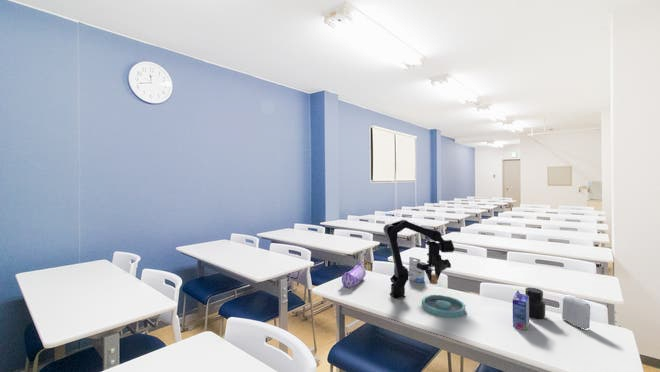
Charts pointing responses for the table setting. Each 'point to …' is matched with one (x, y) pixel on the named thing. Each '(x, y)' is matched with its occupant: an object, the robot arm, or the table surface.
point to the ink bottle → (536, 303)
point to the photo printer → (576, 311)
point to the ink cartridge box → (520, 311)
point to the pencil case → (353, 276)
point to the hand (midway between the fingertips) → (433, 280)
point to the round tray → (443, 306)
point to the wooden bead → (433, 279)
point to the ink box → (415, 271)
